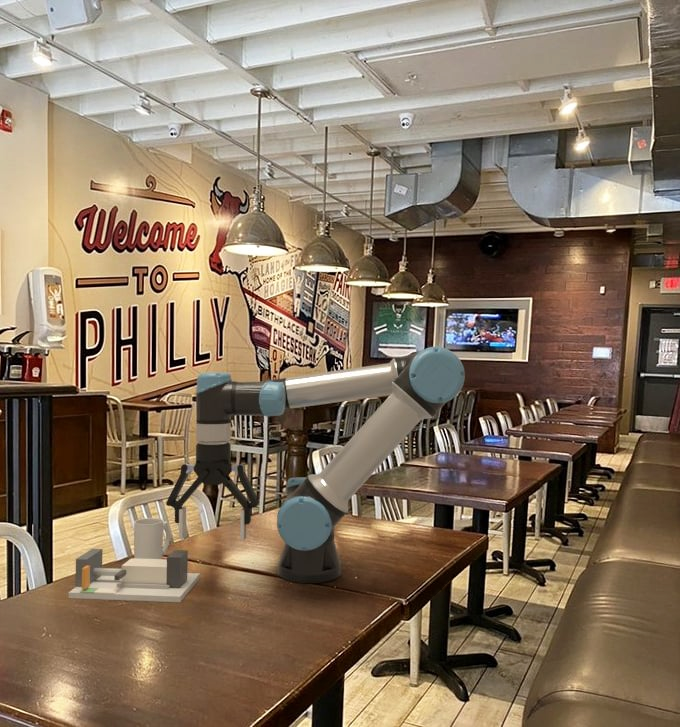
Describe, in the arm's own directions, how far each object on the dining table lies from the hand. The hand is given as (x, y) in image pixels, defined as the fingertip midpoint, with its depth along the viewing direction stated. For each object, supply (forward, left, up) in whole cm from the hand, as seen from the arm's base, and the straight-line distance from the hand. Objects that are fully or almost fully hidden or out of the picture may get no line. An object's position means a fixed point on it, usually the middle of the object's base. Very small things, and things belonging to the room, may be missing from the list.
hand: (212, 538), depth 141 cm
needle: (+26, +6, -10) cm, 28 cm away
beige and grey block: (+13, +2, -10) cm, 16 cm away
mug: (+18, -13, -12) cm, 25 cm away
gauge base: (+17, 0, -11) cm, 20 cm away
